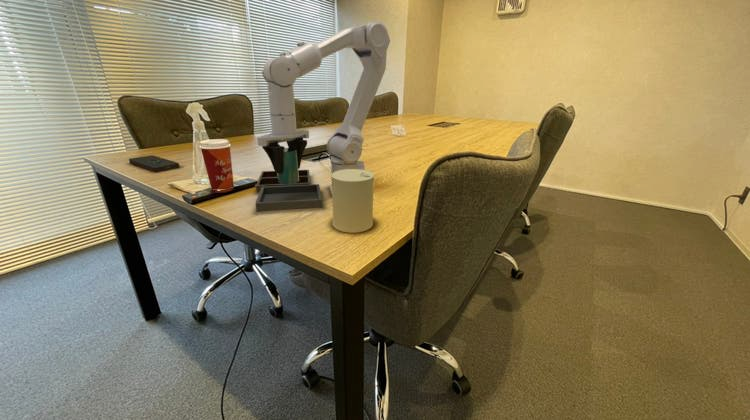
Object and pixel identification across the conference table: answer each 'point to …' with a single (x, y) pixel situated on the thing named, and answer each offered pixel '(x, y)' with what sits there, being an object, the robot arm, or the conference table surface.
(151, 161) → the smart home device
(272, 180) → the cup rack
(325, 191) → the conference table surface
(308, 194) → the tray
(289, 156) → the teal cup
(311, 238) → the conference table surface
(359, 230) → the can
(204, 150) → the paper cup
